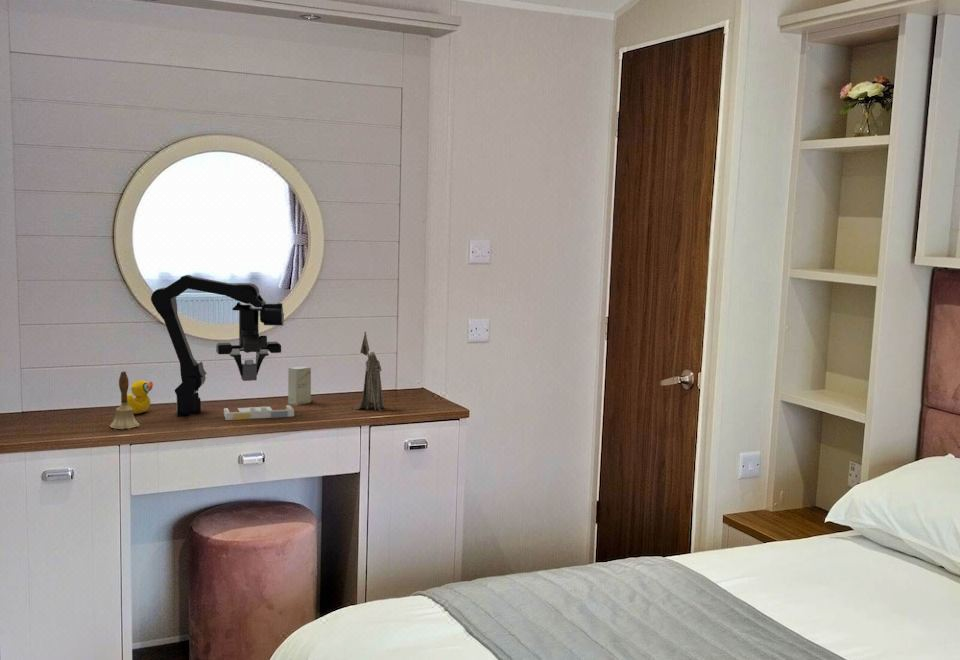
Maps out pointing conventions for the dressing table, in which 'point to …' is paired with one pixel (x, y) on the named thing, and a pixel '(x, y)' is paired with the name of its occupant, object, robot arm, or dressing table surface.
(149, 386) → the duckling
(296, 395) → the skincare box
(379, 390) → the wizard figurine
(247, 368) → the plug
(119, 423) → the hand bell
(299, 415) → the dressing table surface
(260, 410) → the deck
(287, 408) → the socket board
